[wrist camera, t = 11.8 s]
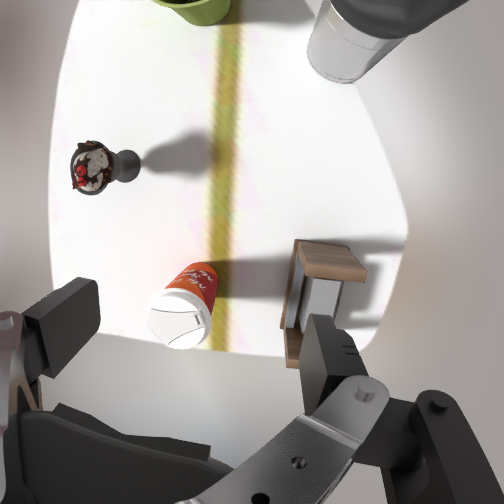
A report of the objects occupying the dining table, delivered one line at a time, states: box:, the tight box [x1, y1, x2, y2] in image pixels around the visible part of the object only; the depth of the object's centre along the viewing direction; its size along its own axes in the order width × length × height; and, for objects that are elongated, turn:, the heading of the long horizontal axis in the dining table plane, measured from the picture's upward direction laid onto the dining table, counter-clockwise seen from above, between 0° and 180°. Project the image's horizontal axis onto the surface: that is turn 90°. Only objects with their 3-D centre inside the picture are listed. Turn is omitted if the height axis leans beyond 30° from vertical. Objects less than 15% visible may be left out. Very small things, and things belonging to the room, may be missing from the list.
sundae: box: [70, 140, 140, 195], centre depth 34 cm, size 7×7×15 cm
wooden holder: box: [280, 240, 367, 369], centre depth 40 cm, size 14×8×11 cm, turn 173°
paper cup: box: [147, 262, 219, 349], centre depth 39 cm, size 8×8×14 cm
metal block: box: [298, 276, 341, 334], centre depth 41 cm, size 8×4×6 cm, turn 173°
